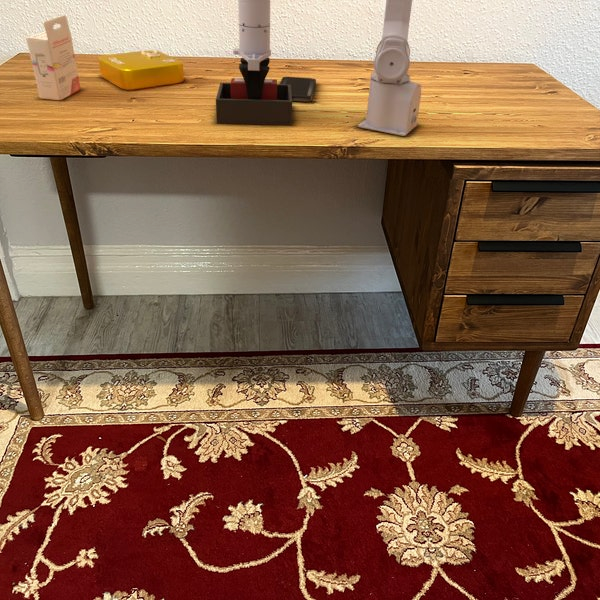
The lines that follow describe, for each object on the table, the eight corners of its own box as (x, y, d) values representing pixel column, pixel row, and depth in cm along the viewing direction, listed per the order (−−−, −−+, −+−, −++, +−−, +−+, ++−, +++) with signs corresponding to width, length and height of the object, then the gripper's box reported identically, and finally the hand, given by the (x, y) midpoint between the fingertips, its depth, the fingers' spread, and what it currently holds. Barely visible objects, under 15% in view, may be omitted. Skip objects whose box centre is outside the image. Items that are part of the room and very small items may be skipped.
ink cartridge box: (60, 87, 128) (45, 12, 119) (81, 89, 127) (68, 14, 118) (37, 98, 121) (21, 20, 112) (60, 101, 120) (45, 22, 111)
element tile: (97, 75, 137) (94, 53, 134) (157, 67, 144) (155, 47, 142) (125, 91, 127) (122, 68, 124) (187, 82, 135) (186, 60, 132)
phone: (316, 78, 137) (311, 96, 125) (316, 83, 138) (311, 102, 125) (282, 76, 137) (274, 94, 125) (282, 81, 138) (274, 99, 126)
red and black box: (277, 105, 118) (278, 78, 115) (277, 110, 115) (278, 83, 112) (232, 104, 118) (231, 77, 115) (231, 109, 115) (230, 81, 112)
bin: (290, 106, 123) (290, 84, 120) (291, 125, 113) (292, 101, 110) (221, 104, 122) (220, 82, 119) (216, 123, 112) (215, 99, 110)
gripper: (234, 16, 114) (236, 89, 121) (230, 31, 102) (232, 110, 110) (271, 18, 114) (270, 90, 122) (271, 33, 102) (270, 111, 110)
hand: (254, 100), depth 116 cm, fingers closed on red and black box, 3 cm apart
